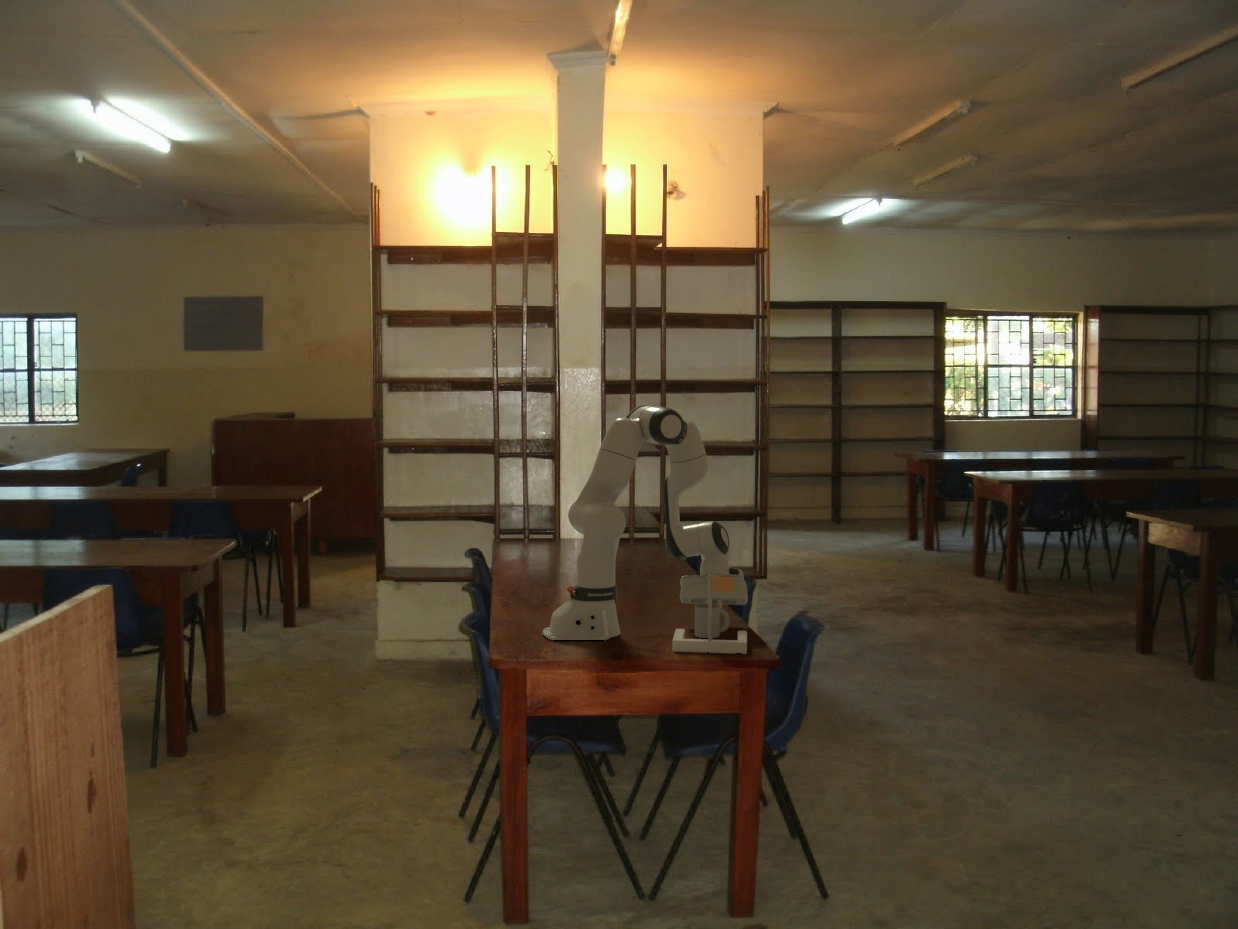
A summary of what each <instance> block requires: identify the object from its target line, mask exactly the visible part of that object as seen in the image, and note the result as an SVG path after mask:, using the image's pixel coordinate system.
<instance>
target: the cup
mask: <svg viewBox="0 0 1238 929" xmlns="http://www.w3.org/2000/svg"><path fill="white" fill-rule="evenodd" d="M721 615H722V617H723V623H722V624H723V625H722V626H721V625H720V624H721ZM730 622H731V621H730V615H729V612H727V610H725V609H723V608H721V609H720V605H718V604H712V638H715V637H718V638H719V637H720V634H721V633H724V632H726V631H727V630H728V628H729V627H730ZM694 637H696V638H697V637H699V638H698V639H701V638H708V603H702V604H695V605H694ZM715 639H716V638H715Z"/></svg>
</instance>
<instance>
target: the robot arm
mask: <svg viewBox="0 0 1238 929" xmlns="http://www.w3.org/2000/svg"><path fill="white" fill-rule="evenodd" d="M700 433H701V432H699V429H698V427H697V425H696V424H695V423H694V422H693V421H691V420H688V419H683V417H682V415H681V414H680V413H679V412H678V411H676V410H675V409H672V408H670V407H663V406H660V405H656V404H654V405H651V404H649V405H645V404H644V405H639V406H637V407H634V408H633V409H631V411H630V412H629V413H628V415H627V416H626V417H619V418H615V419H614V420H613V421H612V422H611V423H610V426H609V427H608V428H607V431H606V433H605V434H604V437H603V439H602V442H601V445H600V446H599V450H598V452H597V453H598V454H597V455H596V459H595V462H594V464H593V468H592V470H591V472H590V475H589V478H588V479H587V481H586V483H585V485H584V486H583V488H582V490H581V492H580V493H579V495H578V497H577V499H576V500H575V501H574V502H573V503H572V504H571V506H570V507H569V509H568V512H567V514H568V515H567V517H568V521H569V524H570V525H571V526H572V528H573V529H574V530H575V531H576V532H578V533H580V535H581V534H582V535H583V539H582V540H583V541H582V545H581V549H580V553H579V555H578V556H577V560H576V562H577V563H576V575H577V576H576V584H575V585H574V586H573V585H570V584H569V585H567V586H566V588H565V589H566V592H568V593H569V596H570V597H569V599H568V600H566V601H565V602H563V604H561V605H560V606H559V607H558V608H556V609H555V610H554V611H553V612H552V615H551V618H550V625H549V626H548V627H544V628H543V629H542V636H543V635H544V636H545V637H547V638H548V639H547V638H546V639H547V640H549V639H550V641H553V640H604V641H607V640H609V639H611V637H612V638H615V637H618V636H620V635H621V630H620V629H621V628H620V626H619V622H618V615H617V614H618V613H617V603H618V602H617V601H618V589H617V588H618V586H617V585H616V558H617V553H618V548H619V544H620V539H621V535H623V533H624V531H625V529H626V527H627V520H626V519H627V518H626V517H625V516H626V515H625V514H624V512H623V511H622V510H621V509H620V508H619V507H618V506H617V505H616V502H617V500H618V498H619V497H620V496H621V494H622V493H623V492H624V491H625V490H626V488H627V487H628V485H629V482H630V479H631V478H632V473H633V471H634V468H635V465H636V462H637V458H638V456H639V451H640V450H641V447H643V445H644V444H645V443H646V442H647V443H649V444H653V445H659V444H660V445H664V446H665V449H666V451H667V454H668V459H669V463H670V465H669V466H670V470H669V475H667V477H665V479H664V483H663V504H664V506H663V507H664V517H665V518H664V521H665V548H666V552H667V553H668V555H670V556H671V557H672V558H674V559H676V560H678V561H679V560H684V559H687V558H690V557H696V556H697V557H699V556H700V557H701V558H700V559H701V563H700V572H699V575H696V574H694V575H688V574H687V575H684V576H682V577H681V578H680V579H679V585H680V591H679V598H680V599H679V600H680V602H681V603H683V604H693V605H694V604H695V605H696V604H702V603H708V575H709V574H712V576H714V577H735V586H734V592H715V591H712V604H718V605H720V609H723V608H722V607H723V605H730V606H731V605H732V606H733V605H734V606H736V605H737V606H745V605H746V604H747V603H748V598H749V597H748V586H747V583H746V580H745V579H744V576H745V575H744V572H743V570H741V569H739V568H736V567H735V568H734V567H733V566H730V564H729V560H730V556H731V554H730V552H731V551H730V550H731V549H730V539H729V538H730V537H729V533H728V532H727V530H726V528H725V527H724V526H723V525H722V524H721V523H719V522H718V521H715V520H713V521H704V522H699V523H694V524H686V525H683V524H682V523H681V520H680V503H679V502H680V497H681V495H683V494H684V493H686V492H687V491H689V490H691V489H692V488H694V487H695V486H697V485H698V484H700V483H701V482H702V481H703V480H704V478H705V477H706V475H707V473H708V471H709V465H708V463H709V461H708V456H707V452H706V448H705V444H704V441H703V439H702V437H701V436H702V435H701V434H700ZM544 636H543V637H544ZM545 637H544V638H545Z"/></svg>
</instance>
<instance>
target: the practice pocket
mask: <svg viewBox="0 0 1238 929" xmlns="http://www.w3.org/2000/svg"><path fill="white" fill-rule="evenodd" d="M734 586H735V577H714V576H712V574H709V575H708V639H701V638H685V637H686V629H685V628H675V631H674V633H673V638H672V642H671V644H672V645H671V646H672V648H671V650H672V652H681V653H705V654H706V653H707V652H709V653H710V654H712V653H713V654H736V653H742V655H743V654H744V655H746V654H747V653H748V652H747V650H748V649H747V648H748V647H747V646H748V631H747V630H738V631H737V639H736V640H735V639H733V640H732V639H712V591H715V592H734ZM707 654H708V653H707Z"/></svg>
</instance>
